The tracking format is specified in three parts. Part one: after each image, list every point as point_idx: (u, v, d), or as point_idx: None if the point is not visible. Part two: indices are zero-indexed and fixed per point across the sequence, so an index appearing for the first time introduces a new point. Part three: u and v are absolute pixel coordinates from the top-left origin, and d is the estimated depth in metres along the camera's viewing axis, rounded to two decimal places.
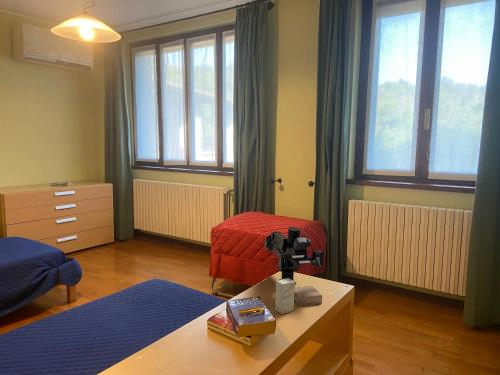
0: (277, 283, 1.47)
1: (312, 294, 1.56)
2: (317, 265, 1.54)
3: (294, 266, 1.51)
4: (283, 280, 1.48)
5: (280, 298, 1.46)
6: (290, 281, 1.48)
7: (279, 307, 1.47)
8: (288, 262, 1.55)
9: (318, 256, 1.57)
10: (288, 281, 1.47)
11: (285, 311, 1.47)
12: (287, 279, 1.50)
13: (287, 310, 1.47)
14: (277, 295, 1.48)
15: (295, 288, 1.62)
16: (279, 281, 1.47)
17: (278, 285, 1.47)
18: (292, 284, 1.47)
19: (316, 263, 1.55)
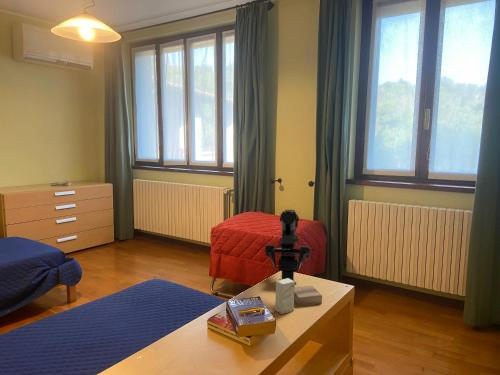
0: (277, 283, 1.47)
1: (312, 294, 1.56)
2: (297, 265, 1.57)
3: (273, 264, 1.57)
4: (283, 280, 1.48)
5: (280, 298, 1.46)
6: (290, 281, 1.48)
7: (279, 307, 1.47)
8: None
9: (302, 256, 1.56)
10: (288, 281, 1.47)
11: (285, 311, 1.47)
12: (287, 279, 1.50)
13: (287, 310, 1.47)
14: (277, 295, 1.48)
15: (295, 288, 1.62)
16: (279, 281, 1.47)
17: (278, 285, 1.47)
18: (292, 284, 1.47)
19: None
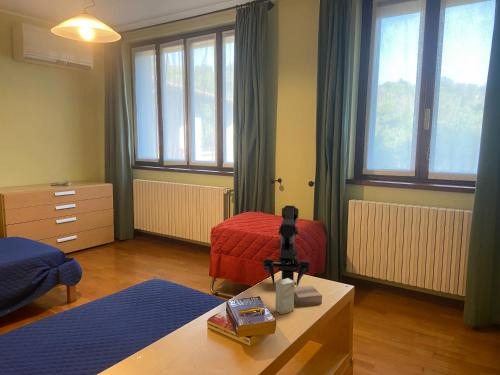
0: (277, 283, 1.47)
1: (311, 294, 1.56)
2: None
3: (272, 279, 1.52)
4: (283, 280, 1.48)
5: (280, 298, 1.46)
6: (290, 281, 1.48)
7: (279, 307, 1.47)
8: (270, 269, 1.55)
9: (301, 271, 1.51)
10: (288, 281, 1.47)
11: (285, 311, 1.47)
12: (287, 279, 1.50)
13: (287, 310, 1.47)
14: (277, 295, 1.48)
15: (295, 288, 1.62)
16: (279, 281, 1.47)
17: (278, 285, 1.47)
18: (292, 284, 1.47)
19: None
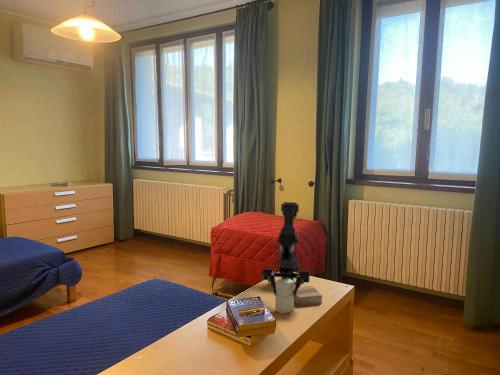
0: (277, 283, 1.47)
1: (311, 294, 1.56)
2: None
3: (273, 289, 1.49)
4: (283, 280, 1.48)
5: (280, 298, 1.46)
6: (290, 281, 1.48)
7: (279, 307, 1.47)
8: None
9: (299, 281, 1.48)
10: (288, 281, 1.47)
11: (285, 311, 1.47)
12: (287, 279, 1.50)
13: (287, 310, 1.47)
14: (277, 295, 1.48)
15: None
16: (279, 281, 1.47)
17: (278, 285, 1.47)
18: (292, 284, 1.47)
19: None
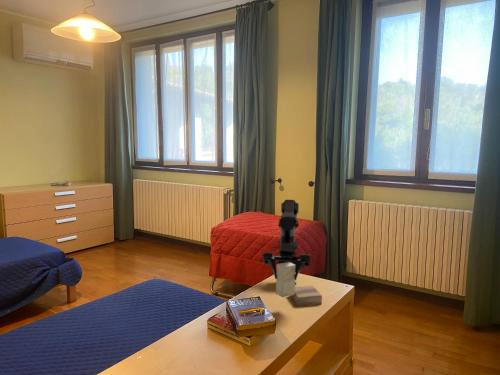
0: (278, 266, 1.46)
1: (311, 294, 1.56)
2: (295, 274, 1.48)
3: None
4: (284, 263, 1.48)
5: (281, 281, 1.45)
6: (291, 264, 1.47)
7: (280, 291, 1.46)
8: None
9: (300, 264, 1.47)
10: (289, 264, 1.47)
11: (286, 294, 1.46)
12: (288, 263, 1.49)
13: (288, 293, 1.47)
14: (278, 278, 1.47)
15: (295, 288, 1.62)
16: (280, 264, 1.47)
17: (279, 268, 1.46)
18: (293, 267, 1.46)
19: None
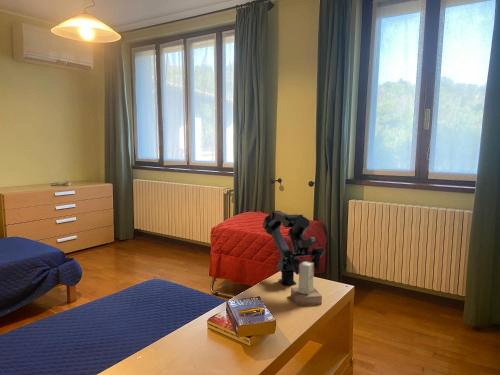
0: (301, 266, 1.56)
1: (311, 294, 1.56)
2: (315, 267, 1.59)
3: (294, 269, 1.56)
4: (304, 263, 1.58)
5: (306, 279, 1.55)
6: (310, 263, 1.58)
7: (304, 289, 1.55)
8: (289, 260, 1.58)
9: (319, 257, 1.60)
10: (309, 263, 1.58)
11: (309, 291, 1.57)
12: (306, 262, 1.60)
13: (310, 290, 1.57)
14: (301, 277, 1.56)
15: (295, 288, 1.62)
16: (302, 264, 1.56)
17: (303, 268, 1.55)
18: (313, 265, 1.58)
19: (315, 263, 1.60)
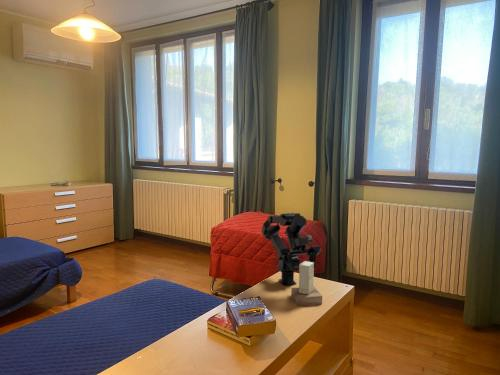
0: (301, 266, 1.55)
1: (312, 294, 1.56)
2: None
3: (291, 267, 1.59)
4: (304, 263, 1.58)
5: (306, 280, 1.55)
6: (310, 263, 1.58)
7: (305, 289, 1.55)
8: (286, 258, 1.61)
9: (315, 255, 1.63)
10: (309, 263, 1.58)
11: (310, 291, 1.57)
12: (306, 262, 1.59)
13: (310, 290, 1.57)
14: (302, 278, 1.56)
15: (296, 288, 1.62)
16: (302, 264, 1.56)
17: (303, 268, 1.55)
18: (313, 265, 1.58)
19: (311, 261, 1.63)
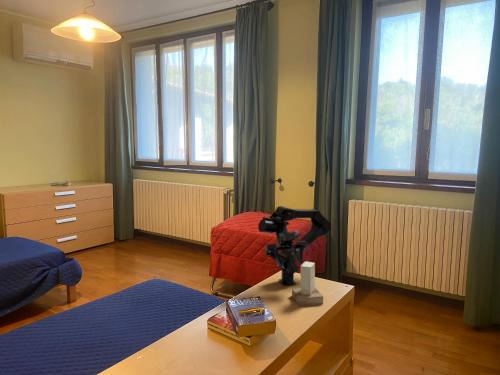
0: (303, 268, 1.55)
1: (313, 295, 1.56)
2: (299, 260, 1.64)
3: (278, 262, 1.60)
4: (305, 264, 1.57)
5: (308, 281, 1.54)
6: (311, 263, 1.57)
7: (306, 290, 1.55)
8: (273, 253, 1.62)
9: (302, 250, 1.64)
10: (310, 264, 1.57)
11: (311, 291, 1.56)
12: (306, 262, 1.59)
13: (312, 290, 1.57)
14: (303, 279, 1.55)
15: (297, 289, 1.62)
16: (304, 265, 1.55)
17: (304, 269, 1.54)
18: (314, 265, 1.58)
19: (298, 256, 1.64)
